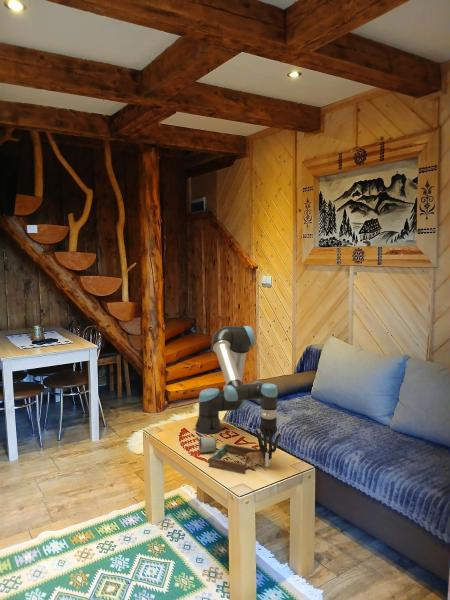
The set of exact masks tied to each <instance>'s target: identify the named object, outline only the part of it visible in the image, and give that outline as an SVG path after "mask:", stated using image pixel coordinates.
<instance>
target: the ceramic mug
mask: <svg viewBox="0 0 450 600" xmlns="http://www.w3.org/2000/svg"><path fill="white" fill-rule="evenodd" d="M198 450H199V453H201V454H203V453H213V452H216V450H217V439H216V438H215V437H214V436H212V437H211V436H209V437H207V436H206V437H205V436H200V437H199V439H198Z"/></svg>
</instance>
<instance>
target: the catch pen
mask: <svg viewBox="0 0 450 600" xmlns="http://www.w3.org/2000/svg"><path fill="white" fill-rule="evenodd" d="M258 450H259V449H256V448H250V447H244V446H239V445H233V444H229V443H224V445H222V446H221V447H220V448H219V449H218V450H217V451H215V453H213V454H212V455H211V456H210V457H209V458H208V467H209V468H215V469H219V470H223V471H227V472H233V473H239V474H246V468H245V463H240V462H235V461H229V460H226V459H221V458H223V457H224V456H225V455H226V454H232V455H235V456H236V455H238V456H243V457H246V455H247V453H249V452H253V453H254V452H257V451H258Z"/></svg>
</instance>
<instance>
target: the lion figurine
mask: <svg viewBox="0 0 450 600" xmlns="http://www.w3.org/2000/svg"><path fill="white" fill-rule="evenodd" d="M257 450H258V451H257V452H254V453H253V452H249V453H247V455H246V456H244V457H245V459H244V460H245V461H244V464H245V469H246V468H249V466H248V463H250V465H251V466H252V467H253V468H256V465H255V464H254V461H258V462H259V465H260V466H263V465H264V466H265V459H264V457H263V456H264V452H263V451H262V450H260V448H258V449H257ZM267 451H269V449H268V450H267Z"/></svg>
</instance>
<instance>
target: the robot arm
mask: <svg viewBox="0 0 450 600" xmlns="http://www.w3.org/2000/svg"><path fill="white" fill-rule="evenodd" d="M255 343H256V338H255V333H254V330H253V328H252V327H251V326H250V325H233V326H232V325H231V326H230V325H229V326H227V325H224V326H222V327H220V328H218V329H217V330H216V331H215V333H214V334H213V336H212V339H211V347H212V350H213V353H215V354H216V357H217V360H218V364H219V367H220V369H221V372H222V375H223V378H224V382H225V385H223V389H222V390H220V389H219V388H216V387H214V388H213V387H211V388H205V389H203V390H201V391H200V392H199V393H198V394H199V395H198V417H197V420H196V423H195V431H196V432H197V433H200V434H205V435H213V434H217V433H220V432H221V431H222V423H221V419H220V415H219V414H220V412H227V411H228V412H229V411H235V412H236V411H238V410H239V411H240V410H242V409H243V408H244V406H245V404H246V401H253V400H254V401H255V400H259V401H260V426H259V428H256V429H255V430H254V433H255V434H256V437H257V442H258V447H259V448H260V450H262V451H263V452H264V456H263V457H264V459H265V465H264V466H265V467H269V466H270V465H271V460H272V459H273V453H274V454H275V452H276V451H277V448H278V445H279V444H278V443H279V441H280V437H281V436H282V434H283V433H282V432H281V431H279V430H278V427H277V422H278V421H277V420H278V419H277V417H278V386H277V385H276V383H275V384H274V383H270V382H269V383H267V382H266V383H264V382H261V381H255V382H254V383H249V384H243V377H244V371H245V363H246V357H247V353H249V352H250V349H251V348H252V347H254V346H255V345H256V344H255ZM262 436H263V437H262ZM274 436H275V439H274ZM273 441H274V442H273ZM259 448H258V449H259ZM267 450H268V451H267Z"/></svg>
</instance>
